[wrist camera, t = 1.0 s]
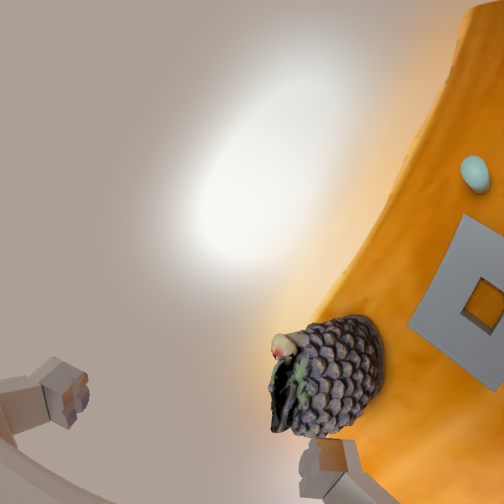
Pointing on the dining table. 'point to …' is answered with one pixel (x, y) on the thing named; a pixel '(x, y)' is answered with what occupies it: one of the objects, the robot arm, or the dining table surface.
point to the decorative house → (325, 376)
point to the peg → (476, 174)
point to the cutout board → (455, 298)
